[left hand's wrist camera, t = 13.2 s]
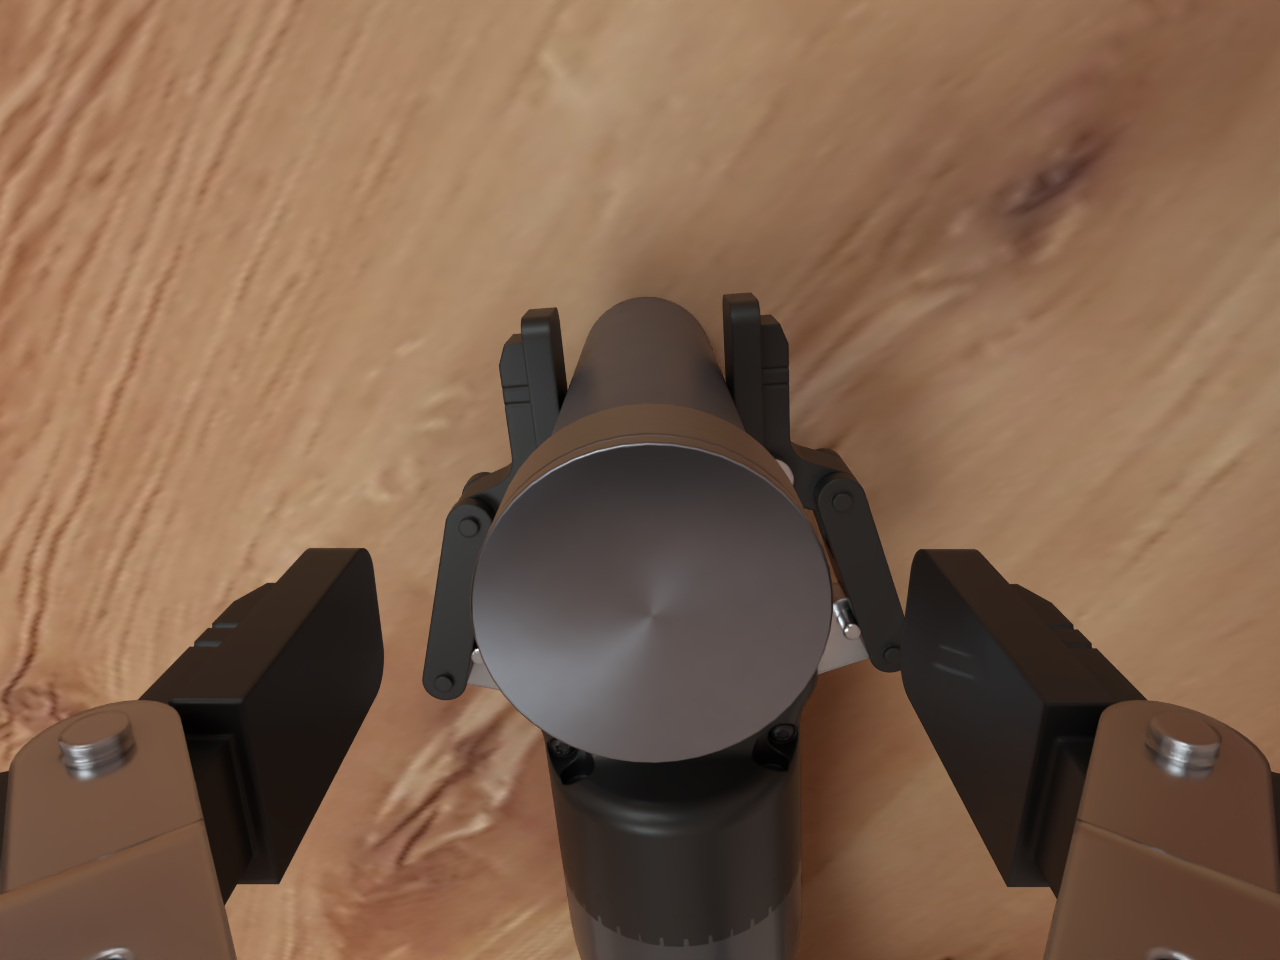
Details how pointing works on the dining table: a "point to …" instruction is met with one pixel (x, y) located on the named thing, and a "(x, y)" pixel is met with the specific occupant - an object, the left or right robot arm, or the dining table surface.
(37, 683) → the dining table surface
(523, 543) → the lid
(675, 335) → the cylindrical container
